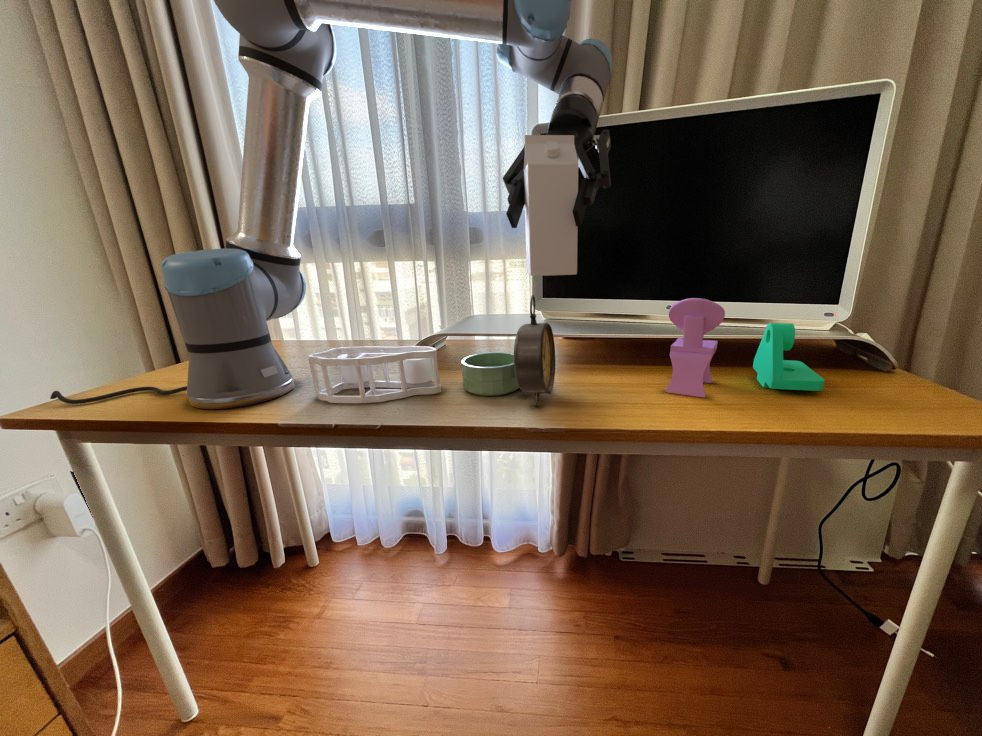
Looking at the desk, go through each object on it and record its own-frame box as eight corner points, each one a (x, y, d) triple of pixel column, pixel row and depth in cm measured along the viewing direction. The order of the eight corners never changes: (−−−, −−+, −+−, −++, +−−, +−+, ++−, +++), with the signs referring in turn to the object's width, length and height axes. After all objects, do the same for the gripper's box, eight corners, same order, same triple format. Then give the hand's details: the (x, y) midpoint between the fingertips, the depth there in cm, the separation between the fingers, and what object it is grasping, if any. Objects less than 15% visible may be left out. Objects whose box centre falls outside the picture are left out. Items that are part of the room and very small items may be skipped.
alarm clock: (545, 411, 64) (543, 300, 58) (510, 409, 65) (504, 299, 59) (557, 387, 74) (556, 290, 68) (526, 386, 75) (523, 290, 69)
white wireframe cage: (449, 382, 78) (445, 342, 75) (429, 404, 67) (424, 359, 65) (344, 381, 79) (336, 342, 77) (309, 403, 69) (299, 359, 66)
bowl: (452, 393, 72) (449, 365, 70) (481, 376, 81) (479, 350, 79) (507, 400, 68) (506, 370, 67) (531, 381, 77) (530, 354, 75)
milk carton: (526, 273, 71) (522, 140, 64) (569, 272, 71) (569, 140, 64) (530, 277, 64) (526, 129, 57) (577, 275, 65) (579, 129, 58)
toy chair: (718, 382, 74) (730, 293, 69) (712, 398, 67) (725, 300, 61) (670, 376, 78) (677, 292, 72) (658, 391, 71) (666, 298, 65)
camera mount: (823, 397, 66) (838, 331, 62) (769, 395, 68) (781, 330, 64) (797, 374, 77) (809, 317, 73) (751, 373, 79) (761, 316, 75)
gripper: (645, 133, 70) (621, 238, 62) (520, 145, 77) (485, 240, 69) (642, 84, 63) (616, 194, 55) (506, 102, 71) (465, 202, 63)
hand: (543, 219), depth 62 cm, fingers closed on milk carton, 9 cm apart
